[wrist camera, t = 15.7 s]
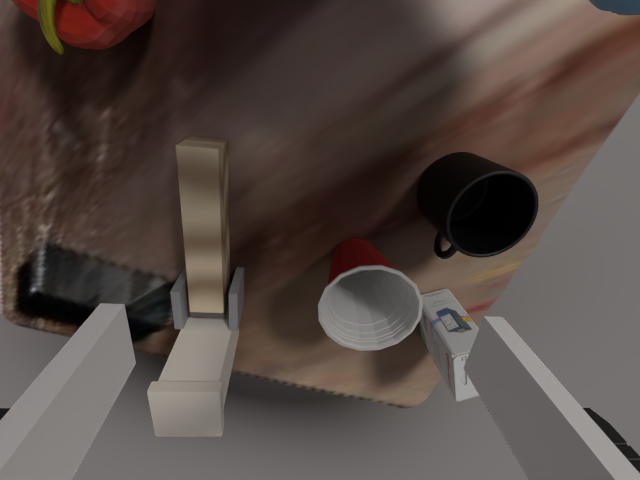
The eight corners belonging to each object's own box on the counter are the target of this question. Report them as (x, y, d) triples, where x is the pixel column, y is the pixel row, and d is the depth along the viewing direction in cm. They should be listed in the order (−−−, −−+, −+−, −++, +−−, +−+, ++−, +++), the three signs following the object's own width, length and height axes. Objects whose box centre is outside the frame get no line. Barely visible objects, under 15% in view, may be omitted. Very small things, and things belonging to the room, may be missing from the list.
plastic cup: (317, 215, 41) (326, 263, 30) (400, 223, 42) (436, 273, 32) (307, 287, 46) (311, 350, 35) (381, 292, 47) (407, 356, 36)
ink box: (414, 295, 48) (448, 356, 37) (449, 286, 48) (494, 346, 37) (420, 338, 52) (453, 404, 41) (452, 330, 51) (494, 395, 41)
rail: (190, 136, 36) (175, 145, 31) (227, 140, 36) (218, 148, 32) (200, 293, 45) (190, 317, 40) (230, 294, 45) (223, 318, 41)
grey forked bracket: (185, 264, 43) (135, 351, 29) (244, 267, 44) (222, 353, 30) (192, 335, 48) (151, 436, 34) (244, 336, 49) (225, 436, 35)
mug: (392, 227, 43) (416, 262, 35) (441, 138, 38) (481, 155, 30) (452, 249, 45) (488, 287, 37) (505, 168, 40) (559, 191, 32)
